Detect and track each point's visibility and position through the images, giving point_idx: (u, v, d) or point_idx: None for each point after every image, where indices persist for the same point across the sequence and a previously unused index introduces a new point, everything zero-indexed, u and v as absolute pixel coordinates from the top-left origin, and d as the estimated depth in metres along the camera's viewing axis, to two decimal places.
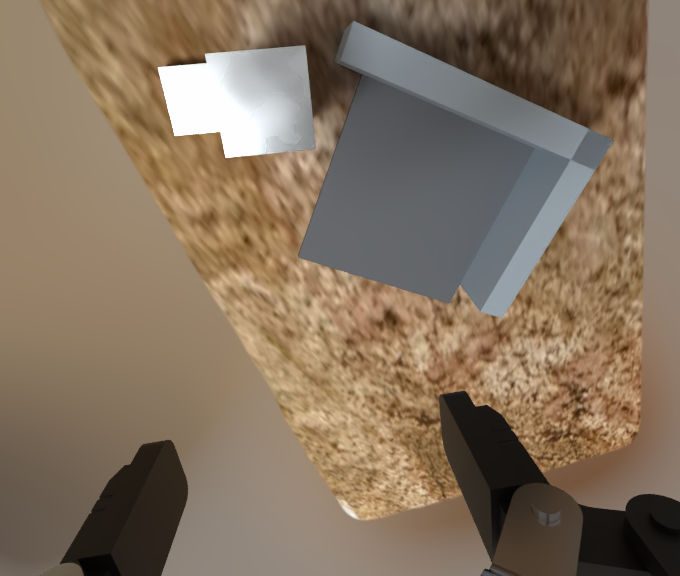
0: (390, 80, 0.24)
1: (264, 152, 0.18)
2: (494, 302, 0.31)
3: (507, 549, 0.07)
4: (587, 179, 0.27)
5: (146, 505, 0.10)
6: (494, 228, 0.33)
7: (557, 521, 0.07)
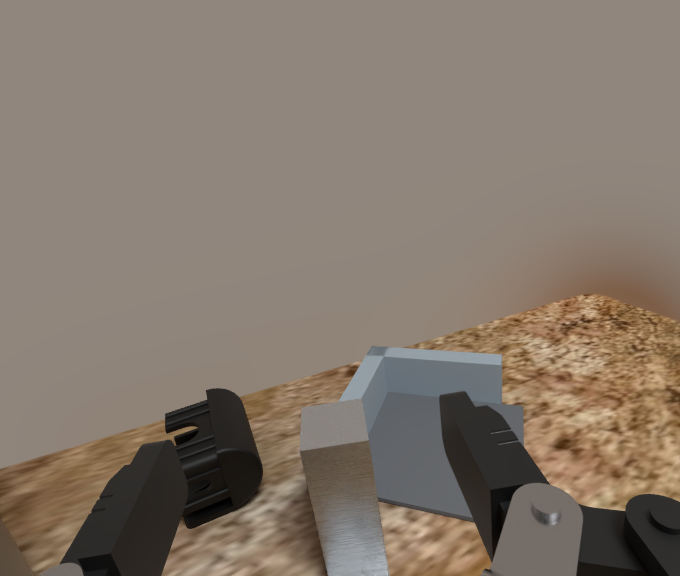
0: None
1: (364, 420, 0.25)
2: (490, 360, 0.41)
3: (507, 549, 0.07)
4: (394, 348, 0.46)
5: (146, 504, 0.10)
6: (445, 393, 0.44)
7: (557, 521, 0.07)
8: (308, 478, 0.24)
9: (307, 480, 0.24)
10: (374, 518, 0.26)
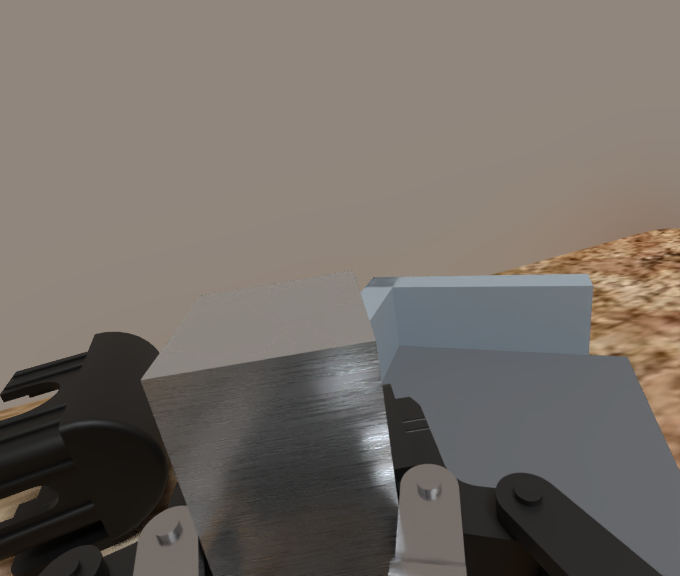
0: None
1: (360, 303, 0.09)
2: (572, 282, 0.25)
3: (405, 533, 0.08)
4: (408, 277, 0.30)
5: None
6: (493, 343, 0.27)
7: (435, 496, 0.08)
8: (184, 474, 0.08)
9: (182, 481, 0.08)
10: None
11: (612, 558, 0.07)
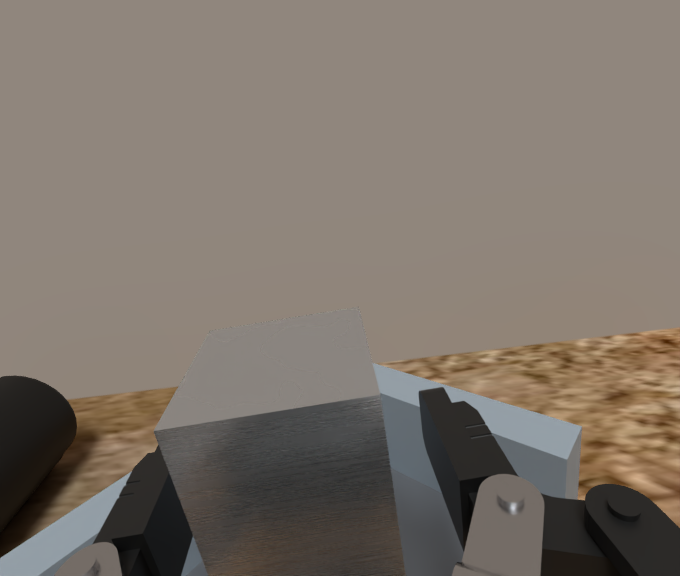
0: (53, 563, 0.14)
1: (365, 348, 0.09)
2: (542, 438, 0.15)
3: (477, 540, 0.07)
4: None
5: (172, 489, 0.10)
6: (433, 481, 0.19)
7: (519, 510, 0.08)
8: (194, 517, 0.08)
9: (192, 523, 0.08)
10: None
11: None
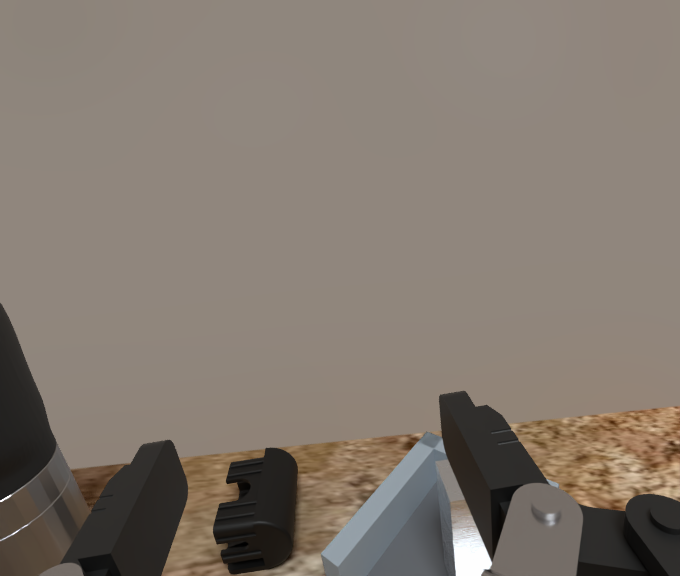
0: (359, 538, 0.36)
1: None
2: None
3: (507, 549, 0.07)
4: None
5: (146, 505, 0.10)
6: None
7: (557, 521, 0.07)
8: (453, 522, 0.31)
9: (452, 523, 0.31)
10: None
11: None
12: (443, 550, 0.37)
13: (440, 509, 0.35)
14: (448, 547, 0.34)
